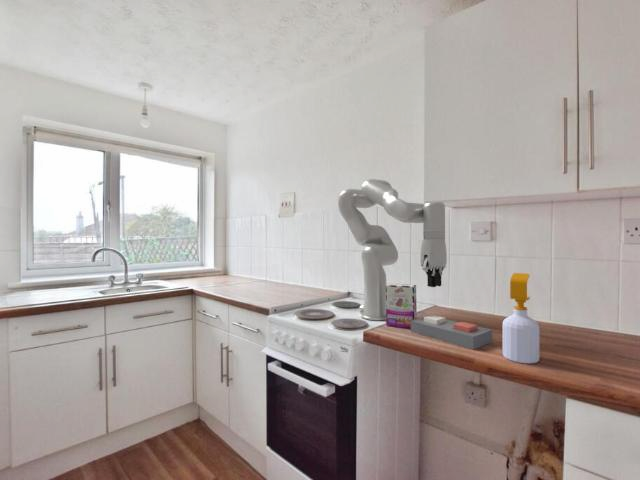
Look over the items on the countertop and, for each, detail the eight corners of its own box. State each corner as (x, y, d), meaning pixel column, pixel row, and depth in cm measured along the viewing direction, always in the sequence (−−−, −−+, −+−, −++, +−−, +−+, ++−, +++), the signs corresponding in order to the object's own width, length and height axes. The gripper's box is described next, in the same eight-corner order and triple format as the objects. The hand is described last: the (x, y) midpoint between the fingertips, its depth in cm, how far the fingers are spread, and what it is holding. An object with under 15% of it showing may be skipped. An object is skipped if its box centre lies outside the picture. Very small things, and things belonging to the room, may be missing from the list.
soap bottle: (541, 357, 96) (541, 273, 95) (535, 367, 89) (536, 276, 89) (506, 350, 102) (506, 271, 101) (499, 358, 95) (499, 274, 95)
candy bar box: (417, 326, 129) (416, 284, 129) (414, 329, 125) (414, 286, 124) (389, 322, 134) (388, 282, 134) (385, 325, 130) (385, 284, 130)
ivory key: (423, 323, 121) (423, 317, 121) (432, 320, 125) (432, 314, 125) (436, 326, 117) (436, 320, 117) (445, 324, 120) (445, 317, 120)
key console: (410, 331, 122) (410, 320, 122) (430, 325, 129) (430, 315, 129) (473, 349, 103) (473, 336, 103) (492, 341, 110) (492, 329, 110)
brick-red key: (453, 330, 112) (453, 324, 112) (462, 328, 115) (462, 321, 115) (468, 334, 107) (468, 327, 107) (477, 331, 111) (477, 324, 111)
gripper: (438, 235, 128) (438, 282, 128) (411, 236, 118) (411, 287, 119) (456, 235, 122) (456, 285, 122) (429, 236, 112) (429, 290, 113)
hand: (434, 285), depth 121 cm, fingers open, 2 cm apart
